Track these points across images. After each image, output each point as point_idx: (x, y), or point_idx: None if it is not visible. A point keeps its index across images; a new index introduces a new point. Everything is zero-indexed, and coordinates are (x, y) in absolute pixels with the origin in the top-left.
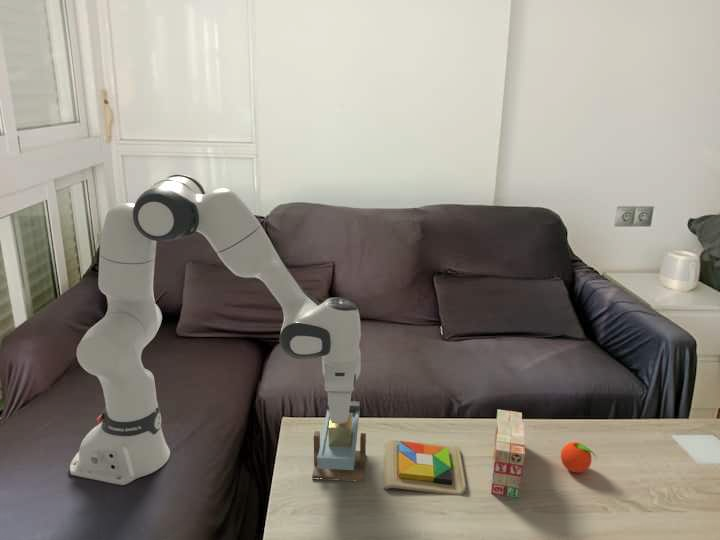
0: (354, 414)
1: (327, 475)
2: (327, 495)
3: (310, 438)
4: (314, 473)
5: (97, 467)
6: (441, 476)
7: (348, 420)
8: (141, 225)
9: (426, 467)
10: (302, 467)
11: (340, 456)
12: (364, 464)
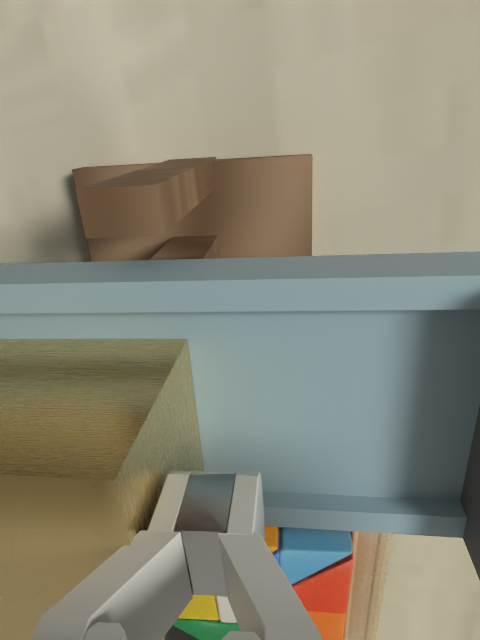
0: (433, 492)
1: (95, 251)
2: (3, 260)
3: (463, 70)
4: (91, 179)
5: None
6: (170, 630)
7: (18, 625)
8: None
9: (201, 607)
10: (161, 85)
11: None
12: None
